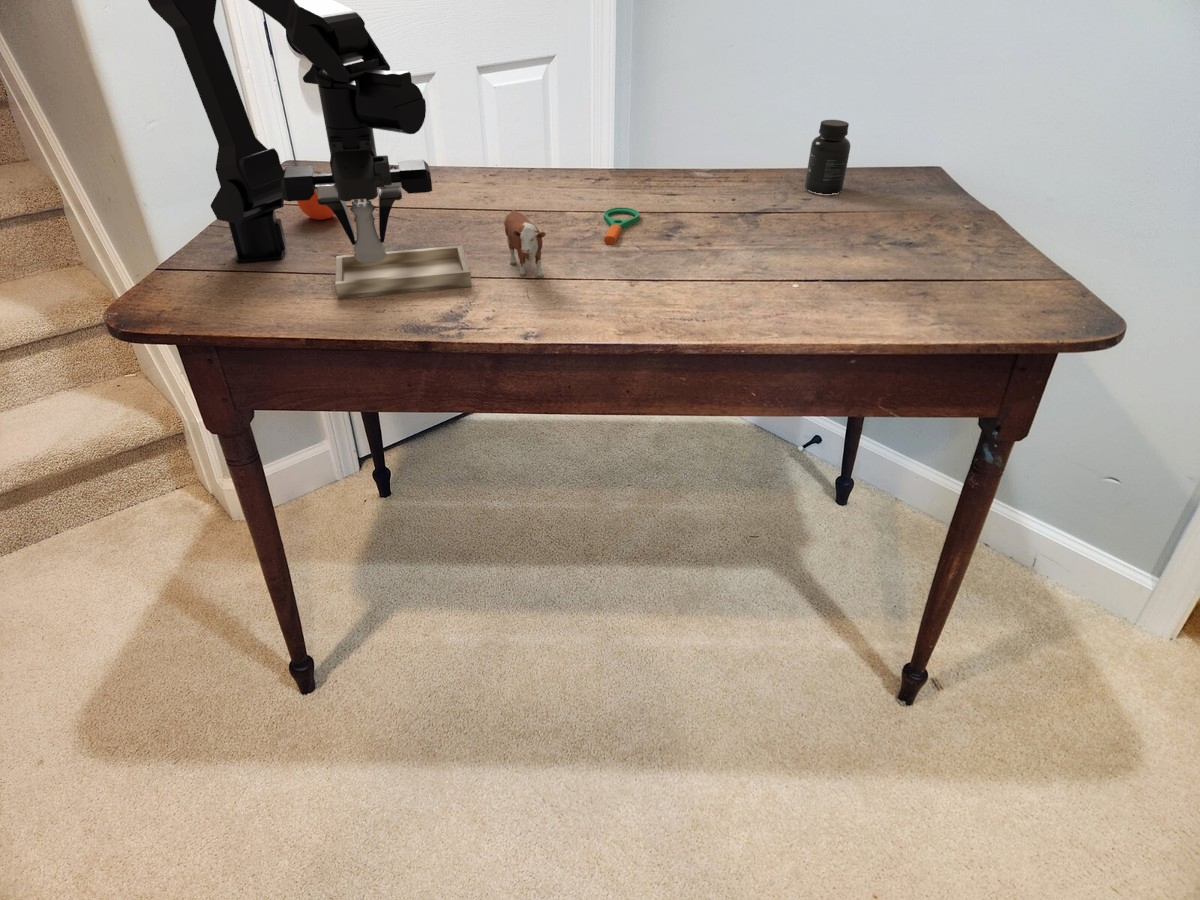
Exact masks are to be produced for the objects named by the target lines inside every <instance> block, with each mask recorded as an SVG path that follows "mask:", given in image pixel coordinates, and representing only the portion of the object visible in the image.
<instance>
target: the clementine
mask: <svg viewBox="0 0 1200 900" xmlns="http://www.w3.org/2000/svg"><path fill="white" fill-rule="evenodd" d="M314 192H315V193H314V195H313V196H312V197H311V199H310V200H303V201H296V202H297V206H298V207H299V209H300V210H301V212H303V213H304V214H305V215H306V216H308V217H309V218H311V219H314V220H320V221H321V220H323V221H324V220H326V219H329V218H332V217H333V216H334V215H335V214H334V213H333V211H332V210H331V209H330V208H329V207H328V206H327V205H319V204H318V201H317V200H318V194H317V193H316V190H314Z"/></svg>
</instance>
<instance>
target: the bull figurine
mask: <svg viewBox="0 0 1200 900" xmlns="http://www.w3.org/2000/svg"><path fill="white" fill-rule="evenodd" d="M504 219H505V220H504V221H503V225H504V232H505V236H506V237H507V240H506V241H507V245H508V249H509V252H510V257H509V264H510V266H516V265H517V263H518V262H517V258H516V255H515V250H516V252H517V256H518V259H519V264H520V268H519V276H520V277H525V276H527V271H526V260H528V262H530V263H532V262H533V261H534V262H535V266H536V277H537V278H539V279H542V278H545V276H544V273H543V269H542V248H543V244H544V243H543V238H544V237H545V236H546V235H547V233H546V232H545V231H540V230H539V228H538V227H537V226H536V225H534V223H532V222H531V220H530V219H529V218H528V217H526V216H525V214H523V213H521V212H519V211H517V210H516V209H515V210H514V209H513V210H511V212H510V213H508V214H507V215H506V217H505V218H504ZM534 259H535V260H534Z"/></svg>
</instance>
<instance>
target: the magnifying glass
mask: <svg viewBox="0 0 1200 900" xmlns="http://www.w3.org/2000/svg"><path fill="white" fill-rule="evenodd" d="M614 215H628V216H632V217H631V218H626V219H620V218H619V219H618V218H613V217H611V216H614ZM603 220H604V222H605V223H606V224H607V225H608V227H609V228H608V230H607V233H606V234H605V236H604V238H603V241H604V244H606V245H615V244H617V243H616V242H617V241H618V238H619V237H620V234H621V232H622V230H624V229H626V228H629V227H630V225H631V226H633V225H634V224H637V223H638V222H639V221H640V212H639V211H638V210H637V209H634V208H629V207H620V206H619V207H614V208H610V209H607V210H605V212H603ZM636 222H637V223H636Z"/></svg>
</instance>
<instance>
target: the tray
mask: <svg viewBox="0 0 1200 900" xmlns="http://www.w3.org/2000/svg"><path fill="white" fill-rule="evenodd" d="M385 252H386V257H385V258H384V259H383V260H382V261H380V262H377V263H369V264H366V263H361V262H358V261H357V260H356V259H355V258H354V254H344V255H336V257H335V258H336V259H335V261H336V262H335V281H334V282H335V283H334V284H335V289H336V294H337V295H336V296H337V299H338V300H345V299H354V298H355V299H356V298H364V297H366V298H367V297H375V296H376V297H377V296H385V295H387V296H388V295H398V294H399V295H400V294H407V293H408V294H409V293H419V292H429V291H430V292H431V291H440V290H441V291H443V290H449V289H450V290H451V289H462V288H470V287H471V288H472V277H471V270H470V267H469V263H468V260H467V257H466V254H465V251H464V247H463V245H453V246H451V245H450V246H441V247H440V246H439V247H429V248H428V247H427V248H416V249H404V250H391V251H385Z"/></svg>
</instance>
